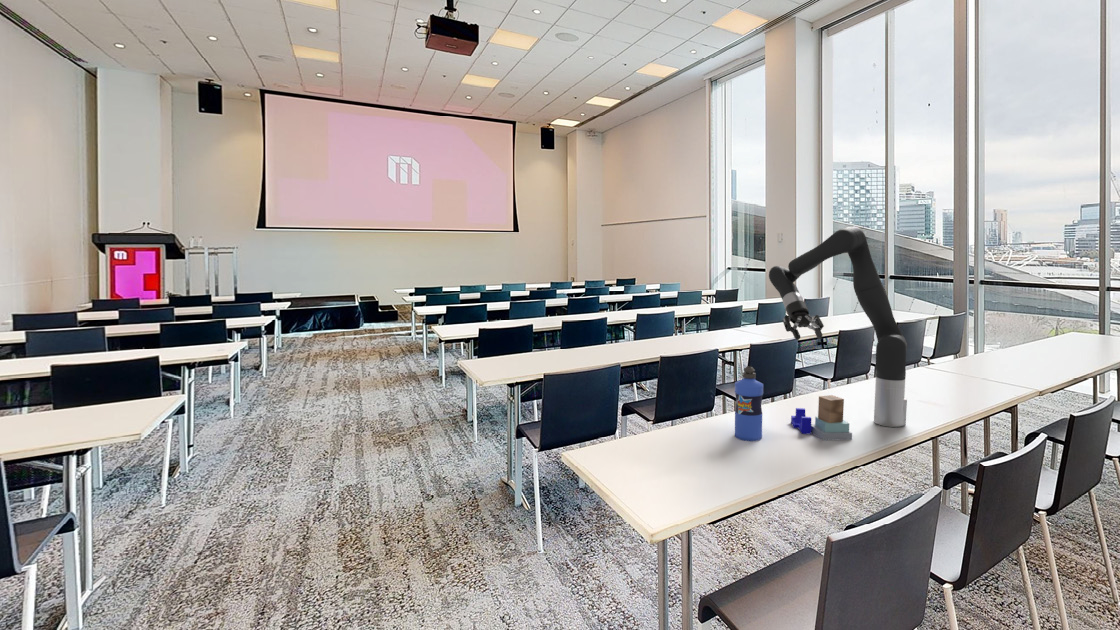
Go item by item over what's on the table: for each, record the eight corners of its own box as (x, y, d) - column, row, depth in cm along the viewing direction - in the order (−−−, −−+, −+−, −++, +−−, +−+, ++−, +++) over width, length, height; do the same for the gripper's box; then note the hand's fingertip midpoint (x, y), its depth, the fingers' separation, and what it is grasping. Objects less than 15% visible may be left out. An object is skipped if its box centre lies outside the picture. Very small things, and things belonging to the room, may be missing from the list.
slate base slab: (836, 431, 191) (836, 423, 191) (851, 441, 181) (852, 433, 181) (808, 432, 191) (808, 424, 190) (822, 442, 181) (823, 433, 180)
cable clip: (791, 423, 200) (791, 407, 199) (803, 423, 198) (804, 408, 198) (797, 434, 188) (797, 417, 187) (810, 434, 187) (811, 418, 186)
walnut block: (831, 417, 188) (832, 395, 188) (842, 421, 183) (843, 399, 182) (818, 418, 187) (818, 396, 186) (829, 423, 182) (830, 400, 181)
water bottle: (741, 430, 192) (742, 362, 190) (766, 436, 186) (768, 366, 183) (729, 437, 186) (730, 367, 183) (754, 443, 179) (756, 371, 176)
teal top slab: (838, 424, 189) (838, 416, 189) (849, 432, 181) (849, 423, 181) (815, 424, 190) (815, 416, 189) (825, 432, 182) (825, 423, 181)
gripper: (781, 300, 210) (795, 333, 200) (815, 299, 211) (831, 332, 201) (774, 312, 216) (788, 344, 206) (808, 311, 217) (823, 343, 207)
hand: (809, 338), depth 203 cm, fingers open, 8 cm apart
